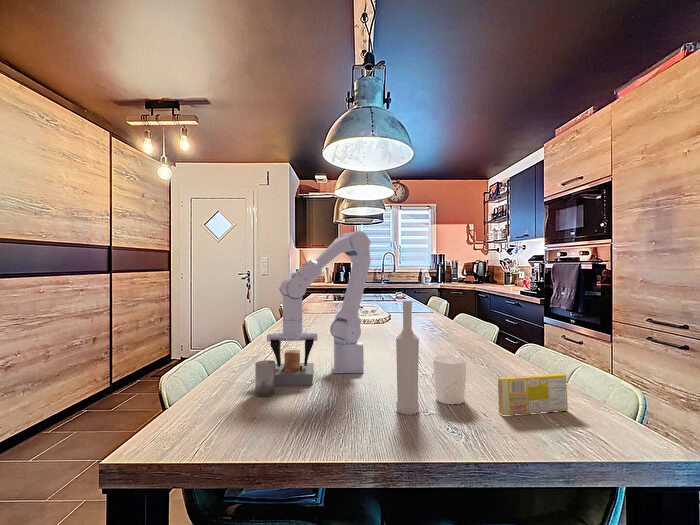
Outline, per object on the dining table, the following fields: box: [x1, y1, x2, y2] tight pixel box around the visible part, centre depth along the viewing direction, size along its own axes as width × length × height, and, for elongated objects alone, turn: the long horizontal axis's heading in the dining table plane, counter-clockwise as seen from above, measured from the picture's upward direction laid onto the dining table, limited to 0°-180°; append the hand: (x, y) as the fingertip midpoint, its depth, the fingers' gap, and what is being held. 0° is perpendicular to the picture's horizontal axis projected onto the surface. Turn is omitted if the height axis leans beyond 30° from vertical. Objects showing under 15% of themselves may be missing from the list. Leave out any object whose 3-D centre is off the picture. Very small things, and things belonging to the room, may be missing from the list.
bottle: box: [395, 299, 420, 416], centre depth 83 cm, size 5×5×25 cm
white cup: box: [432, 355, 467, 406], centre depth 90 cm, size 8×8×10 cm
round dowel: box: [254, 359, 276, 398], centre depth 95 cm, size 5×5×8 cm
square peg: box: [283, 349, 301, 372], centre depth 107 cm, size 4×4×8 cm
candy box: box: [497, 373, 569, 415], centre depth 82 cm, size 16×2×8 cm, turn 100°
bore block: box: [275, 362, 314, 387], centre depth 107 cm, size 12×12×3 cm
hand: (292, 365), depth 107 cm, fingers open, 7 cm apart
